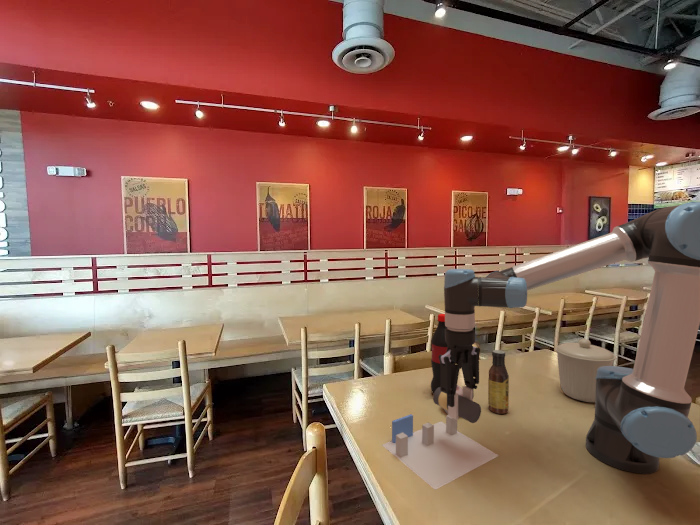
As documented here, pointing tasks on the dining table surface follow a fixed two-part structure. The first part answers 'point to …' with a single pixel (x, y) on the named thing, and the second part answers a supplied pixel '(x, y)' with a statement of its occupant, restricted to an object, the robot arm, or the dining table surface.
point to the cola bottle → (438, 351)
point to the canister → (581, 368)
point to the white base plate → (436, 450)
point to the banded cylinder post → (459, 406)
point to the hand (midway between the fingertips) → (460, 414)
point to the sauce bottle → (498, 384)
